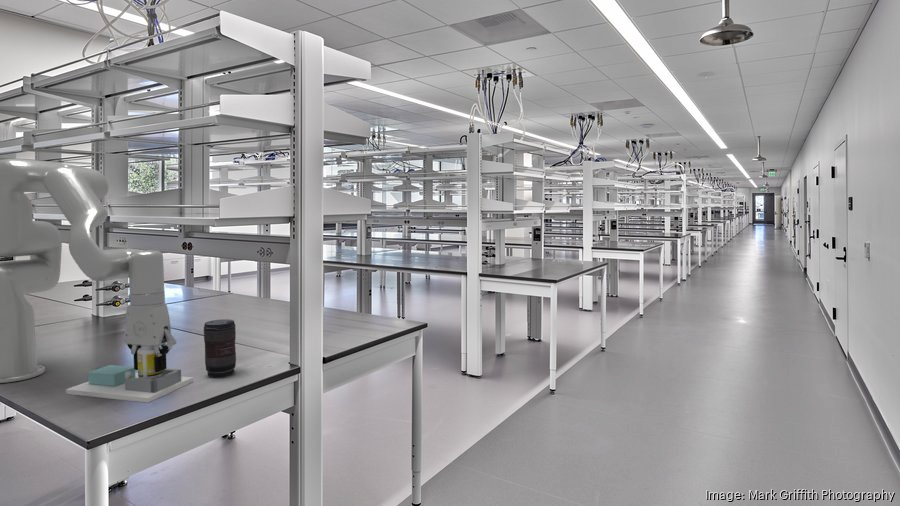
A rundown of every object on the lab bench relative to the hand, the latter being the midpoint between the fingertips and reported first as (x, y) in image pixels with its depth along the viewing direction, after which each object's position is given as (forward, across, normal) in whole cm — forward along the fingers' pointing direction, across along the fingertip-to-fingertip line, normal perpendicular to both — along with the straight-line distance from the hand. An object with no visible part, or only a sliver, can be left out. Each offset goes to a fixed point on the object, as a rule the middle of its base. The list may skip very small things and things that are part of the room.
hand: (150, 368), depth 128 cm
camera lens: (+6, +9, +15) cm, 18 cm away
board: (+5, -6, 0) cm, 8 cm away
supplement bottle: (+2, 0, 0) cm, 2 cm away
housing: (+4, -12, 0) cm, 13 cm away
